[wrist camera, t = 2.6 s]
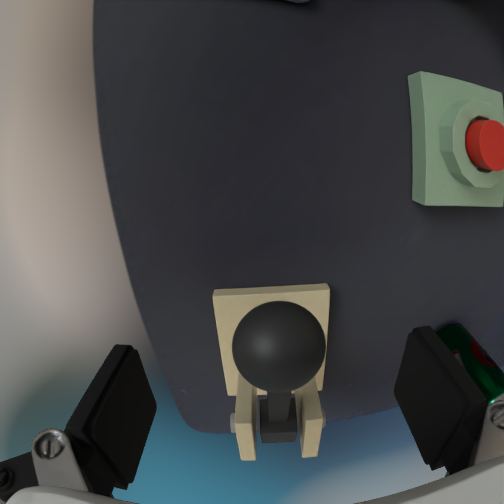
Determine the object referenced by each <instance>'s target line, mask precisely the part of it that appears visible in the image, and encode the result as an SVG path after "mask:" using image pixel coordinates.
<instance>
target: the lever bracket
mask: <svg viewBox="0 0 504 504" xmlns="http://www.w3.org/2000/svg"><path fill="white" fill-rule="evenodd" d="M212 297H213V304H214V311H215V318H216V325H217V331H218V338H219V344H220V351H221V357H222V363H223V369H224V375H225V381H226V387H227V392H228V396H236V395H237V396H236V408H235V413H231V417H230V427H231V432H232V433H236V435H237V441H238V446H239V451H240V456H241V460H256V445H257V444H256V442H257V395H267V391H264V390H261V389H259V388H257V387H255V386H253V385H252V384H250V383H249V382H248V381H247V380H246V379H244V378H243V376H242V375H241V374H240V372H239V371H238V369H237V367H236V365H235V362H234V360H233V355H232V340H233V335H234V332H235V330H236V328H237V325H238V324H239V322H240V321H241V319H242V318H243V317H244V316H245V315H246V314H247V313H248V312H249V311H250V310H252V309H253V308H255V307H257V306H259V305H261V304H263V303H267V302H271V301H288V302H293V303H296V304H298V305H300V306H302V307H304V308H306V309H307V310H308V311H310V312H311V313H312V314H313V315H314V316H315V317H316V318H317V320H318V321H319V323H320V324H321V327H322V329H323V331H324V335H325V339H326V346H327V333H328V319H329V302H330V288H329V286H328V284H327V283H321V284H307V285H291V286H274V287H256V288H236V289H215V290H214V293H213V296H212ZM325 358H326V353H325ZM325 358H324V361H323V363H322V366H321V368H320V369H319V371H318V373H317V374H316V375H315V376H314V378H313V379H312V380H310V381H309V382H308V383H307V384H305V385H304V386H302V387H300V388H298V389H296V390H293V391H291V393H295V400H296V408H297V417H298V425H299V434H300V443H301V451H302V457H303V458H304V457H305V458H306V457H315V456H317V454H318V448H319V442H320V436H321V430H322V428H324V427H325V425H326V415H325V410H324V408H321V405H320V400H319V395H318V391H321V390H322V387H323V378H324V368H325Z"/></svg>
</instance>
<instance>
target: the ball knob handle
mask: <svg viewBox="0 0 504 504" xmlns="http://www.w3.org/2000/svg"><path fill="white" fill-rule="evenodd" d="M325 353H326V339H325V335H324V331H323V329H322V327H321V324H320V323H319V321H318V320H317V318H316V317H315V316H314V315H313V314H312V313H311V312H310V311H308V310H307V309H306V308H304V307H302V306H300V305H298V304H296V303H293V302H288V301H271V302H267V303H263V304H261V305H259V306H257V307H255V308H253V309H252V310H250V311H249V312H248V313H247V314H246V315H245V316H244V317H243V318H242V319H241V321H240V322H239V324H238V325H237V328H236V330H235V332H234V335H233V340H232V355H233V360H234V362H235V365H236V367H237V369H238V371H239V372H240V374H241V375H242V376H243V378H244V379H246V380H247V381H248V382H249V383H250V384H252V385H253V386H255V387H257V388H259V389H261V390H264V391H267V399H265V400H260V434H261V439H262V443H278V442H293V441H295V438H296V435H297V418H296V405H295V398H291V391H293V390H296V389H298V388H300V387H302V386H304V385H305V384H307V383H308V382H309V381H310V380H312V379H313V378H314V376H315V375H316V374H317V373H318V371H319V369H320V368H321V366H322V363H323V361H324V358H325Z"/></svg>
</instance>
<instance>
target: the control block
mask: <svg viewBox="0 0 504 504" xmlns="http://www.w3.org/2000/svg"><path fill="white" fill-rule="evenodd" d="M408 85H409V95H410V107H411V122H412V147H413V184H412V200H413V201H415V202H418V203H420V204H422V205H425V206H483V207H503V200H504V169H502V170H500V171H493V170H488V169H483V168H479V167H477V166H476V165H475V164H474V163H473V162H472V161H471V160H470V158H469V156H468V153H467V150H466V144H465V137H466V132H467V129H468V127H469V125H470V124H471V123H472V122H474V121H476V120H495V121H498V122H499V123H501V124H502V125H503V127H504V110H503V99H502V93H500V92H497V91H494V90H491V89H488V88H485V87H482V86H479V85H475V84H472V83H469V82H465V81H461V80H458V79H454V78H450V77H446V76H441V75H437V74H432V73H428V72H423V71H420V72H417V73H414V74H412V75H409V76H408Z"/></svg>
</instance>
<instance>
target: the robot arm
mask: <svg viewBox="0 0 504 504" xmlns="http://www.w3.org/2000/svg"><path fill="white" fill-rule="evenodd" d="M394 395H395V398H396V400H397V402H398V404H399V406H400V408H401V411H402V413H403V415H404V417H405V419H406V421H407V424H408V426H409V428H410V430H411V433H412V435H413V437H414V439H415V441H416V444H417V446H418V449H419V451H420V453H421V456H422V458H423V460H424V462H425V464H427V465H428V464H429V465H430V467H431V470H432V471H433V470H435V469H438V468H441V467H443V466H445V468H446V470H447V473H446V475H445V477H444V478H441V479H439V480H436V481H433V482H431V483H428V484H425V485H422V486H419V487H416V488H413V489H409V490H407V491H403V492H400V493H396V494H392V495H389V496H385V497H381V498H377V499H373V500H369V501H364V502H360V503H355V504H504V400H497V401H494V402H492V403H490V404H489V406H488V404H487V403H486V400H487V399H486V397H485V396H484V394H483V393H482V392H481V390H480V389H479V388H478V386H477V385H476V383H475V382H474V381H473V379H472V378H471V377H470V375H469V374H468V373H467V372H466V370H465V369H464V368H463V366H462V365H461V364H460V362H459V361H458V360H457V359H456V357H455V356H454V355H453V354H452V352H451V351H450V350H449V349H448V347H447V346H446V345H445V344H444V342H443V341H442V340H441V339H440V338H439V336H438V335H437V334H436V333H435V332H434V330H433V329H432V328H431V327H430V326H423V327H417V328H414V329H413V330H412V333H409V335H408V338H407V342H406V346H405V351H404V355H403V358H402V362H401V366H400V370H399V373H398V377H397V380H396V384H395V387H394ZM156 408H157V407H156V401H155V398H154V396H153V393H152V390H151V388H150V385H149V382H148V379H147V377H146V374H145V371H144V368H143V365H142V362H141V359H140V356H139V353H138V351H137V350H135V349H134V348H133V347H132V346H131V345H118V344H117V345H115V346H114V347H113V349H112V350H111V352H110V353H109V355H108V356H107V358H106V360H105V361H104V363H103V364H102V366H101V368H100V369H99V371H98V372H97V374H96V376H95V377H94V379H93V380H92V382H91V384H90V385H89V387H88V389H87V391H86V392H85V394H84V396H83V397H82V399H81V400H80V402H79V404H78V406H77V407H76V409H75V411H74V413H73V414H72V416H71V418H70V419H69V421H68V423H67V425H66V428H65V430H64V432H63V431H62V430H59V429H53V428H51V429H46V430H43V431H41V432H40V433H39V434H37V435H36V436H35V438H34V439H33V441H32V444H31V452H28V453H25V454H23V455H20V456H17V457H14V458H11V459H8V460H5V461H2V462H0V504H138V503H133V502H128V501H123V500H119V499H115V498H114V497H113V495H112V491H113V488H114V487H116V488H120V489H124V490H127V487H128V484H129V483H132V482H133V481H134V478H135V475H136V472H137V468H138V465H139V462H140V459H141V456H142V453H143V450H144V446H145V443H146V440H147V437H148V434H149V431H150V428H151V425H152V422H153V419H154V416H155V413H156Z"/></svg>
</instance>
